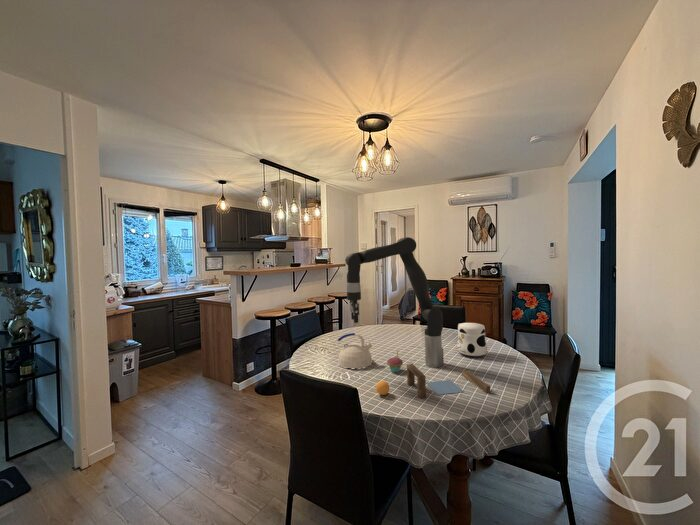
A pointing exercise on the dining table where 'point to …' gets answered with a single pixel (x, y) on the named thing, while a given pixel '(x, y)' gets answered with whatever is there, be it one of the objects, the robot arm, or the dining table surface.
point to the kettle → (355, 354)
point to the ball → (382, 387)
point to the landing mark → (444, 387)
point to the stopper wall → (476, 381)
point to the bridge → (421, 379)
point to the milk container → (471, 339)
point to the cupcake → (395, 363)
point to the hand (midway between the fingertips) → (354, 321)
